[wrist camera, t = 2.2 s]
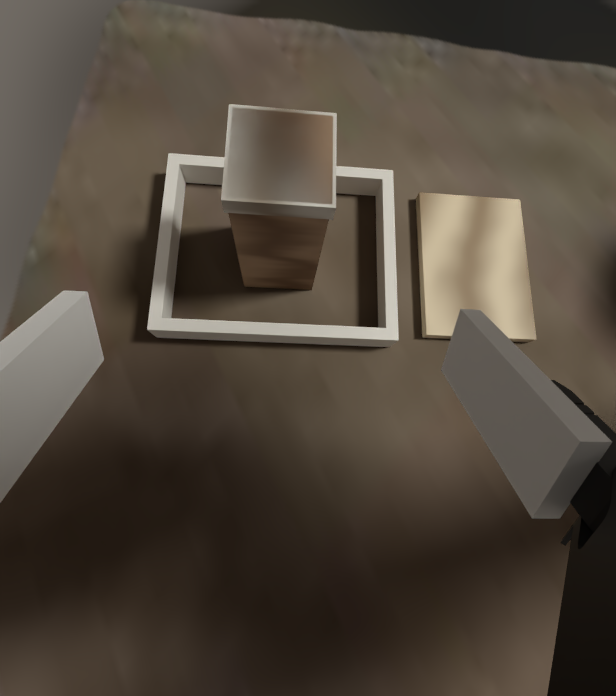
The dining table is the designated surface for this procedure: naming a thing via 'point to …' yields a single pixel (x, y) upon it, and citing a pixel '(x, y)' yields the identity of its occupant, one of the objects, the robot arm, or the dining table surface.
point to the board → (473, 264)
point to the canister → (279, 192)
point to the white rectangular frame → (164, 326)
